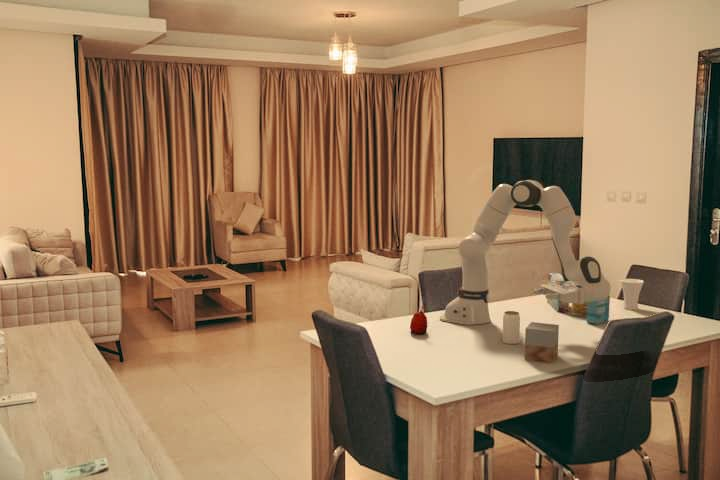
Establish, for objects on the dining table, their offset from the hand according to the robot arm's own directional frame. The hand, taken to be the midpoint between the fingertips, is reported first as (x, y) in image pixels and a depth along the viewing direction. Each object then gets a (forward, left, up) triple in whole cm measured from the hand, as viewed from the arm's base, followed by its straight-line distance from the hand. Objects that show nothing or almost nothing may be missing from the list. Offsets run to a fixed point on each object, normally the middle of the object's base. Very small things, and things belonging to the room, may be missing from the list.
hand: (540, 294), depth 278 cm
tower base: (+5, -24, -19) cm, 31 cm away
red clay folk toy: (-48, -10, -19) cm, 52 cm away
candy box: (+9, +50, -19) cm, 55 cm away
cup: (+28, +73, -19) cm, 81 cm away
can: (-10, -8, -19) cm, 23 cm away
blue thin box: (+17, +40, -19) cm, 48 cm away
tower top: (+5, -24, -13) cm, 28 cm away
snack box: (-4, +62, -19) cm, 65 cm away
